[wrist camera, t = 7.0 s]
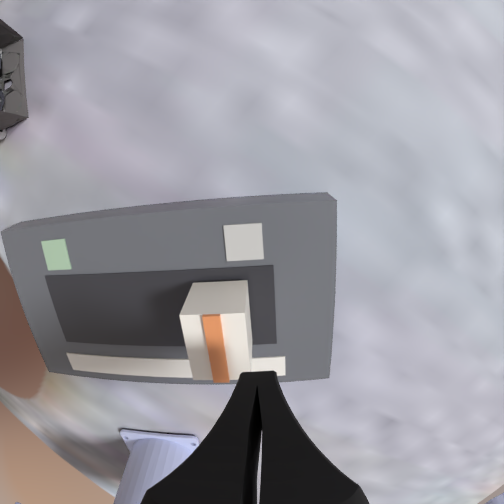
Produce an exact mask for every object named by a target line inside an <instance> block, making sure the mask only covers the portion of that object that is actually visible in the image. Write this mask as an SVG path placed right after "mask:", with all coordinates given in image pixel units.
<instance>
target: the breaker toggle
mask: <svg viewBox="0 0 504 504" xmlns="http://www.w3.org/2000/svg"><path fill="white" fill-rule="evenodd" d="M179 316H180V321H181V326H182V331H183V336H184V340H185V345H186V350H187V354H188V359H189V363H190V368H191V372H192V376H193V380H213V381H214V383H229V382H230V380H238V379H239V376H240V374H241V373H242V372H251V371H252V329H251V318H250V306H249V294H248V281H247V280H240V281H221V282H199V283H193V284H192V286H191V289H190V291H189V293H188V296H187V298H186V300H185V303H184V305H183V307H182V310H181V312H180V315H179Z"/></svg>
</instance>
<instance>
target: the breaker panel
mask: <svg viewBox="0 0 504 504" xmlns="http://www.w3.org/2000/svg"><path fill="white" fill-rule="evenodd" d="M1 235H2V240H3V244H4V248H5V252H6V256H7V259H8V263H9V267H10V270H11V273H12V277H13V280H14V283H15V287H16V290H17V293H18V295H19V299H20V302H21V304H22V307H23V310H24V313H25V316H26V318H27V321H28V324H29V326H30V329H31V331H32V334H33V336H34V339H35V341H36V343H37V346H38V348H39V350H40V353H41V355H42V357H43V360H44V362H45V364H46V366H47V368H48V370H49V372H54V373H60V374H67V375H75V376H82V377H91V378H100V379H110V380H121V381H133V382H148V383H169V384H237V382H238V380H230V382H229V383H214V381H213V380H193V376H192V372H191V368H190V363H189V359H188V354H187V350H186V345H185V340H184V336H183V331H182V326H181V321H180V316H179V315H180V312H181V310H182V307H183V305H184V303H185V300H186V298H187V296H188V293H189V291H190V289H191V286H192V284H193V283H199V282H221V281H240V280H247V281H248V294H249V306H250V318H251V329H252V371H251V372H255V371H273V370H274V371H275V372H277V378H278V382H291V381H304V380H316V379H326V378H329V375H330V364H331V352H332V339H333V323H334V306H335V283H336V247H337V200H336V199H334V198H333V197H332V196H331V195H330V194H328V193H327V192H326V193H301V194H281V195H263V196H247V197H233V198H219V199H207V200H195V201H184V202H173V203H163V204H153V205H143V206H134V207H125V208H117V209H109V210H100V211H93V212H85V213H78V214H70V215H63V216H56V217H50V218H43V219H37V220H30V221H24V222H20V223H18V224H16V225H13V226H11V227H9V228H7V229H5V230H3V231H1Z"/></svg>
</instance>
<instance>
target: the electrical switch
mask: <svg viewBox="0 0 504 504" xmlns="http://www.w3.org/2000/svg"><path fill="white" fill-rule="evenodd" d="M22 38H23V37H22V36H20V35H19V34H18V33H17V32H16V31H14V30H13V29H12V28H11V27H9V26H8V25H7V24H6V23H5V22H3V21H2V20H1V19H0V140H2V139H4V138H5V136H6V128H8V127H10V126H13V125H14V124H15V123H17V122H19V121H21V120H24V119H26V118H29V117H28V109H27V100H26V88H25V74H24V49H23V39H22ZM20 39H22V40H20ZM18 40H20V41H18ZM16 41H17V42H16ZM14 42H15V43H14ZM10 52H11V53H10ZM2 53H3V54H2ZM19 55H20V56H19ZM18 64H19V66H18ZM14 70H15V71H14ZM13 71H14V72H13ZM10 72H13V73H10ZM3 73H4V74H7V73H10V74H8V75H4V74H3ZM9 79H11V80H12V81H13V82H12V85H11V87H10V88H8V89H6V90H5V91H4V81H6V80H9ZM12 90H15V91H12ZM10 91H12V92H11V93H9V92H10ZM8 93H9V94H8ZM7 94H8V95H7ZM21 94H22V95H21ZM5 96H6V97H5Z"/></svg>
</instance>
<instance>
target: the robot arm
mask: <svg viewBox="0 0 504 504" xmlns="http://www.w3.org/2000/svg"><path fill="white" fill-rule="evenodd" d="M261 432H262V464H261V485H260V501H259V504H369V502H368V500H367V498H366V496H365V494H364V492H363V491H362V489H361V487H360V486H359V485H358V484H356V483H355V482H354V481H352V480H351V479H350V478H348V477H347V476H346V475H345V474H343V473H342V472H341V471H340V470H339V469H338V468H337V467H336V466H334V465H333V464H332V463H331V462H330V461H329V460H328V459H327V458H326V457H325V455H324V454H323V453H322V452H321V451H320V450H319V449H318V448H317V447H316V446H315V444H314V443H313V442H312V441H311V439H310V438H309V437H308V436H307V434H306V433H305V431H304V430H303V429H302V427H301V426H300V424H299V423H298V421H297V419H296V418H295V416H294V414H293V413H292V411H291V409H290V407H289V405H288V403H287V401H286V399H285V397H284V395H283V393H282V390H281V388H280V385H279V382H278V378H277V372H275V371H274V370H273V371H255V372H242V373H241V374H240V376H239V379H238V382H237V384H236V387H235V389H234V391H233V393H232V396H231V398H230V400H229V401H228V403H227V405H226V407H225V409H224V411H223V412H222V414H221V416H220V417H219V419H218V420H217V422H216V424H215V425H214V427H213V428H212V429H211V431H210V432H209V434H208V435H207V436H206V437H205V439H204V440H203V441H202V442H201V444H199V441H198V438H197V437H195V436H190V435H174V434H161V433H151V432H141V431H133V430H125V429H122V430H121V431H120V435H121V437H122V438H123V440H124V442H125V444H126V446H127V447H128V449H129V451H130V456H129V459H128V461H127V464H126V467H125V470H124V473H123V476H122V479H121V482H120V485H119V488H118V491H117V494H116V497H115V500H114V504H257V471H258V462H259V452H260V442H261ZM15 504H21V503H19V502H16V503H15ZM486 504H504V493H502V494H500V495H499V496H497V497H495V498H493V499H491V500H490V501H488V502H487V503H486Z"/></svg>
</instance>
